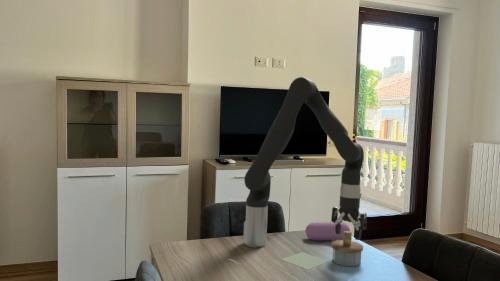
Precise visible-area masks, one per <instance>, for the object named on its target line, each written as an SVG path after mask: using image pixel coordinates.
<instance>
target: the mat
mask: <svg viewBox="0 0 500 281" xmlns="http://www.w3.org/2000/svg"><path fill="white" fill-rule="evenodd" d="M280 261H284V262H286V263H289V264H291V265H294V266H297V267H299V268H302V269H304V270H310V269H313V268H315V267H318V266H320V265H323V264H326V263H328V262H329V260H326V259H323V258H320V257H317V256H314V255H311V254H308V253H305V252H302V251H301V252H298V253H295V254H292V255H289V256H287V257H284V258H281V259H280Z"/></svg>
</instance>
